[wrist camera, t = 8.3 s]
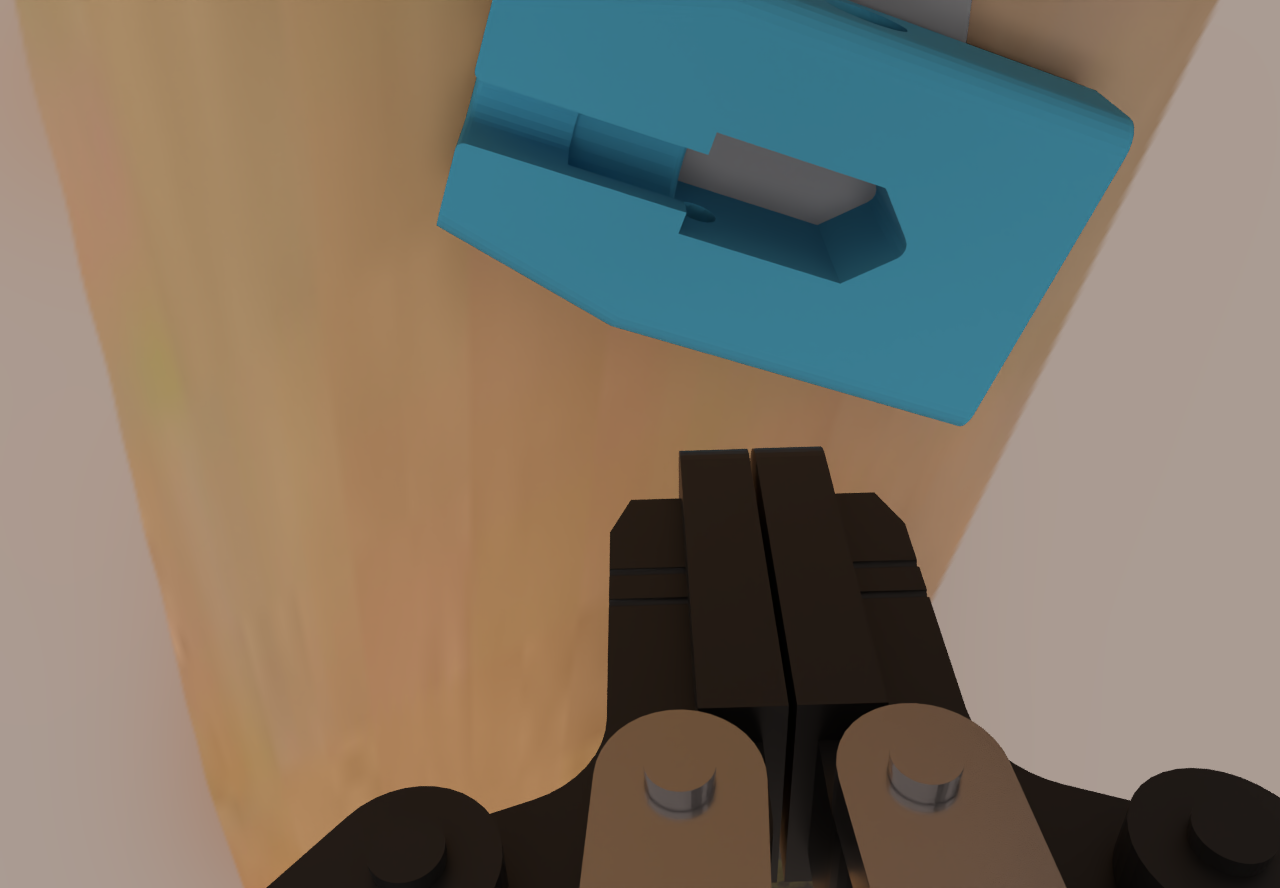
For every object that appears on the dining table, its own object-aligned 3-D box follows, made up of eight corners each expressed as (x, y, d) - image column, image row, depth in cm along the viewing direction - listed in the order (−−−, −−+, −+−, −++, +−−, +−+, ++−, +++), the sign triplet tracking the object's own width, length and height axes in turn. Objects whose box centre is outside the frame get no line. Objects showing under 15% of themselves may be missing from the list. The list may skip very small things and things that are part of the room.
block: (440, 223, 41) (928, 368, 45) (422, 282, 37) (960, 436, 41) (528, -122, 35) (1085, 82, 39) (516, -97, 31) (1142, 128, 34)
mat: (483, -256, 33) (481, -255, 33) (1002, -274, 33) (1007, -273, 33) (528, 244, 42) (527, 250, 42) (937, 229, 42) (941, 235, 42)
